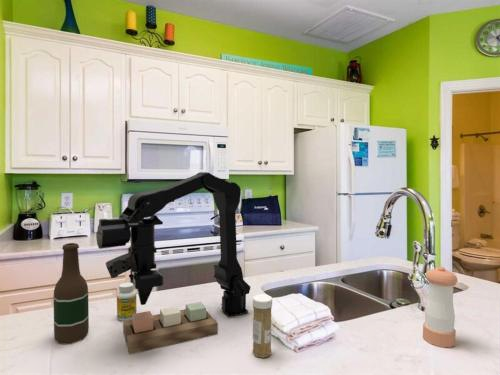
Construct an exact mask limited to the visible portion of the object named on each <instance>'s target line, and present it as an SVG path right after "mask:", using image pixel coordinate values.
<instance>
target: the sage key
mask: <svg viewBox="0 0 500 375" xmlns="http://www.w3.org/2000/svg"><path fill="white" fill-rule="evenodd" d="M185 309H186V316H187V318H188V319H189V320H190V322H191V321H196V320H201V319H206V311H207V307H206V305H204V303H203V302H202V301H198V302H192V303H191V302H190V303H186V304H185Z"/></svg>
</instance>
